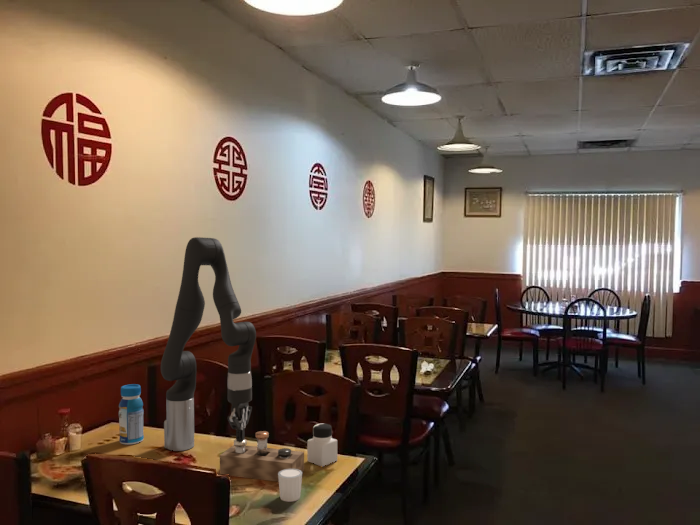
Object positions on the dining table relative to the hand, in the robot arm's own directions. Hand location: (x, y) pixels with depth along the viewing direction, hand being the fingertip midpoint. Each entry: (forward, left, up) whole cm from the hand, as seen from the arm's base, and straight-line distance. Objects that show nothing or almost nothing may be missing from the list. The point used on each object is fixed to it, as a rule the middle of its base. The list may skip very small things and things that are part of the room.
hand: (240, 440), depth 187 cm
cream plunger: (0, 0, -7) cm, 7 cm away
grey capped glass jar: (+15, 0, -9) cm, 17 cm away
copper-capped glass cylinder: (+7, 0, -4) cm, 9 cm away
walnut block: (+7, 0, -9) cm, 12 cm away
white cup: (+22, -14, -10) cm, 28 cm away
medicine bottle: (+22, +14, -10) cm, 28 cm away
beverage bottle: (-50, +13, -10) cm, 52 cm away
